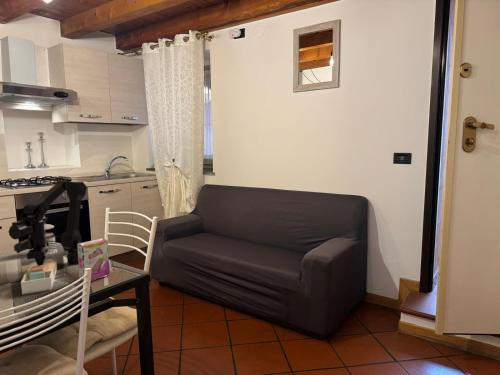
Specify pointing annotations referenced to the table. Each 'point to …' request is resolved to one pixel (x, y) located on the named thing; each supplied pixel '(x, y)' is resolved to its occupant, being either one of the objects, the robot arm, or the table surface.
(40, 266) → the terracotta block
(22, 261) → the table surface
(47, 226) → the french press
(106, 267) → the candy bar box
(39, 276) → the mint green block
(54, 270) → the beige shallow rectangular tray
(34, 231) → the robot arm
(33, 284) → the box
